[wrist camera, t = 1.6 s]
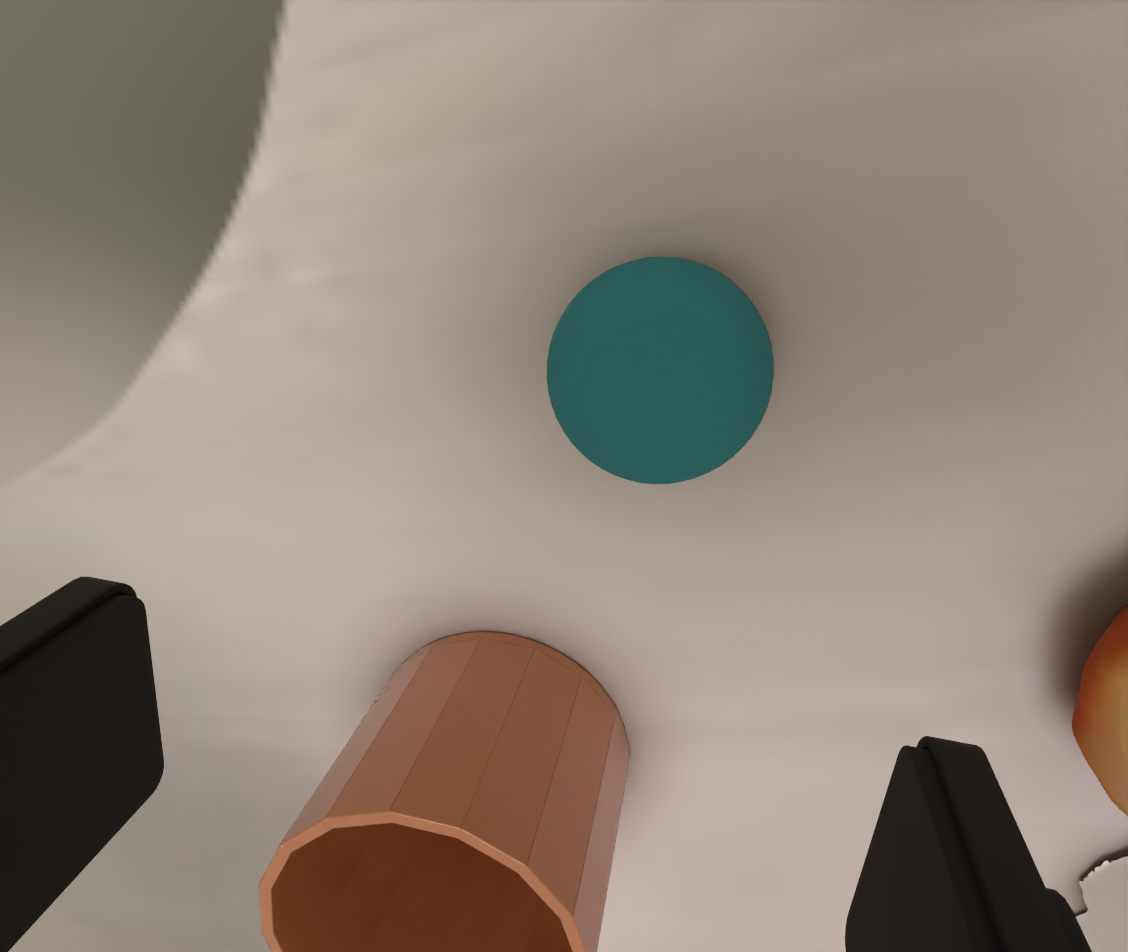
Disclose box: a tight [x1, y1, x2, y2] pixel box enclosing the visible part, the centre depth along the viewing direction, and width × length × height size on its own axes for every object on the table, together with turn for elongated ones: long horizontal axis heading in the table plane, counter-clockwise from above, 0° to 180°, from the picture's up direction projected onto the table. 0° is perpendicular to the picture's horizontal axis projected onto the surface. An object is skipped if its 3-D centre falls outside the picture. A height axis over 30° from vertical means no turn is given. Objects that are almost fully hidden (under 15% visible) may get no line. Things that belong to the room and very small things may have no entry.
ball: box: [547, 257, 773, 484], centre depth 21 cm, size 6×6×6 cm
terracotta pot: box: [259, 632, 629, 952], centre depth 27 cm, size 10×10×9 cm
